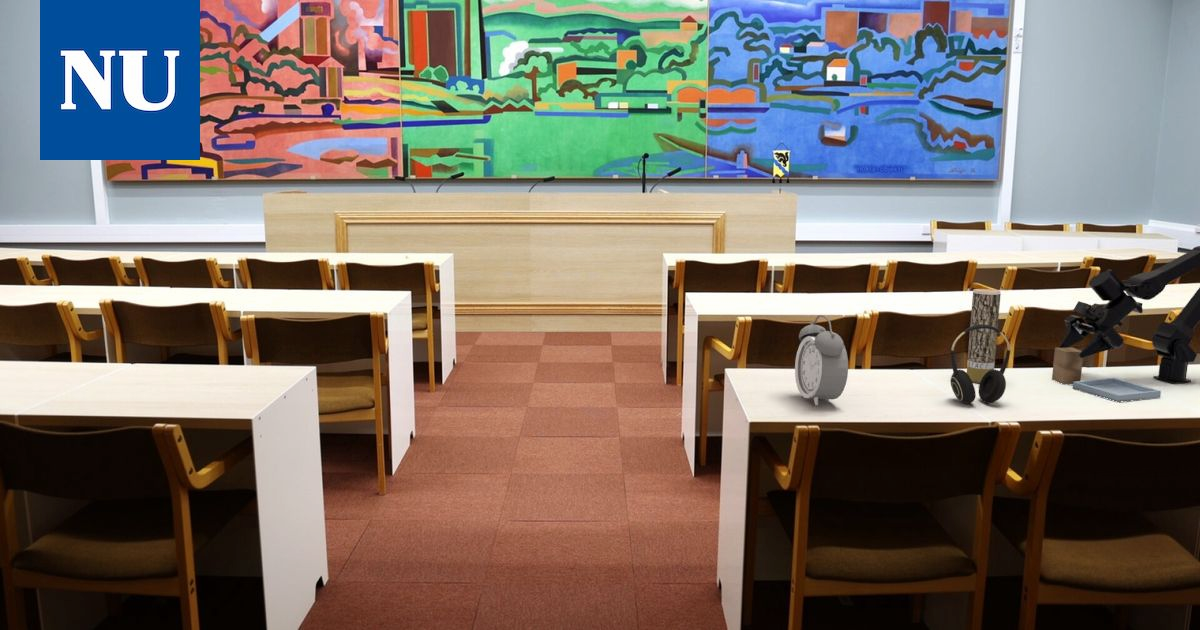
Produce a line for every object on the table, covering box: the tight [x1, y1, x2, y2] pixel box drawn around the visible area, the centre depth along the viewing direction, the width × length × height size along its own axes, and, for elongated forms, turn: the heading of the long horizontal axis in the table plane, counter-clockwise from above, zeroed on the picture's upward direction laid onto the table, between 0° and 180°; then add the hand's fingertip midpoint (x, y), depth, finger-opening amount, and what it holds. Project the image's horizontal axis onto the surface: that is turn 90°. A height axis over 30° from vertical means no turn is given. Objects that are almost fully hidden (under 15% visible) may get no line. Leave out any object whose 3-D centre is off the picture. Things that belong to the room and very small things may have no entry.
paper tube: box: [966, 288, 1002, 384], centre depth 237 cm, size 7×7×25 cm
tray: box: [1072, 377, 1162, 403], centre depth 227 cm, size 14×14×2 cm
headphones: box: [950, 324, 1011, 404], centre depth 216 cm, size 9×15×20 cm, turn 91°
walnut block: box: [1051, 347, 1084, 385], centre depth 238 cm, size 5×5×9 cm
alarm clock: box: [794, 314, 849, 406], centre depth 217 cm, size 16×9×22 cm, turn 9°
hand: (1069, 352), depth 237 cm, fingers open, 9 cm apart
